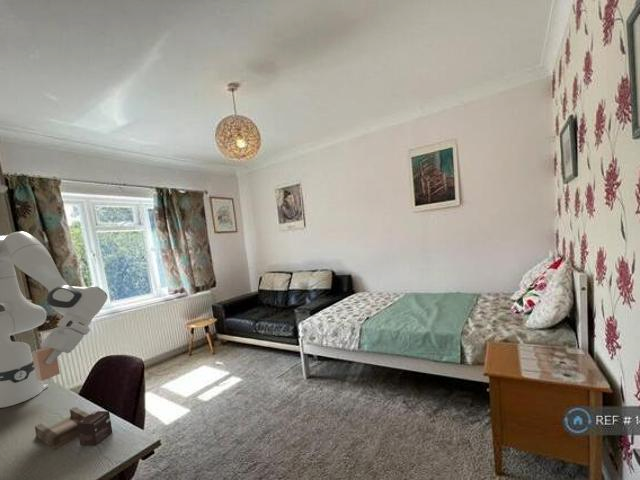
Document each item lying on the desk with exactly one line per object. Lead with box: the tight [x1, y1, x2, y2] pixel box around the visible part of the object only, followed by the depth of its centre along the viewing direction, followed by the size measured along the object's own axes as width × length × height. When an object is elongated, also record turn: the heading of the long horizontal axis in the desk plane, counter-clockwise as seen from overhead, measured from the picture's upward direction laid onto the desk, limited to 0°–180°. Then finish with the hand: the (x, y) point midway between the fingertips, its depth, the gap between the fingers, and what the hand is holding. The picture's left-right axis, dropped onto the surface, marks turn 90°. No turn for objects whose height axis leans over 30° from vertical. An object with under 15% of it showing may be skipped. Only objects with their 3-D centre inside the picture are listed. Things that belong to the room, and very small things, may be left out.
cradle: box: [34, 406, 91, 450], centre depth 99 cm, size 16×11×4 cm
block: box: [31, 347, 61, 381], centre depth 104 cm, size 5×5×10 cm
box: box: [77, 410, 113, 447], centre depth 93 cm, size 6×6×7 cm
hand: (43, 362), depth 104 cm, fingers closed on block, 5 cm apart
